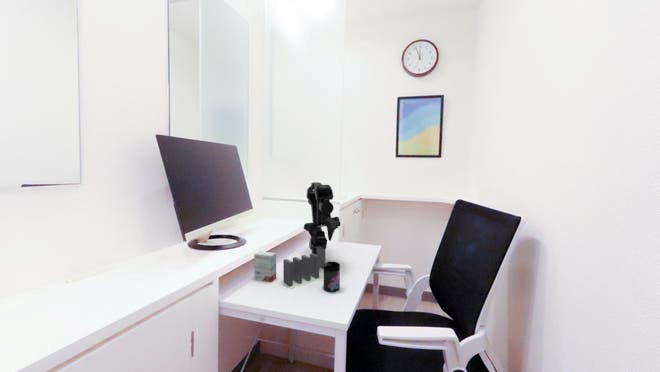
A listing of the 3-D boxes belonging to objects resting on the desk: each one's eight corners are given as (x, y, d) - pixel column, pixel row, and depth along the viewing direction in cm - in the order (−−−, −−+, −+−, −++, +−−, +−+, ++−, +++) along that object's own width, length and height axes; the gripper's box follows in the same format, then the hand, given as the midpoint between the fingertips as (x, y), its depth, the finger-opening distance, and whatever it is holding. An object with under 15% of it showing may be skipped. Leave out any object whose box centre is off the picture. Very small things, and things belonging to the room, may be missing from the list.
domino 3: (301, 277, 127) (301, 255, 126) (304, 276, 128) (304, 255, 127) (307, 281, 123) (307, 258, 122) (310, 280, 124) (310, 257, 123)
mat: (280, 281, 123) (280, 281, 123) (325, 269, 138) (325, 269, 138) (291, 289, 116) (291, 288, 116) (336, 275, 131) (337, 274, 131)
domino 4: (309, 275, 130) (309, 253, 129) (312, 274, 131) (312, 253, 130) (316, 278, 126) (316, 256, 125) (319, 277, 127) (319, 255, 126)
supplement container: (324, 293, 112) (324, 267, 111) (322, 286, 119) (322, 261, 118) (341, 292, 113) (341, 266, 112) (338, 285, 120) (338, 261, 119)
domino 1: (283, 282, 121) (283, 259, 121) (286, 281, 122) (286, 258, 122) (289, 286, 117) (289, 262, 117) (292, 285, 118) (292, 262, 118)
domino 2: (292, 280, 124) (292, 257, 123) (295, 279, 125) (295, 256, 124) (298, 283, 120) (298, 260, 120) (301, 283, 121) (302, 259, 121)
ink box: (276, 278, 126) (276, 252, 125) (271, 283, 122) (271, 255, 121) (260, 276, 129) (259, 250, 128) (253, 280, 125) (253, 253, 124)
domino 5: (316, 266, 142) (316, 246, 141) (319, 266, 143) (319, 246, 142) (322, 269, 138) (322, 249, 137) (325, 268, 139) (325, 248, 138)
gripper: (317, 215, 126) (317, 249, 127) (348, 211, 138) (347, 242, 139) (303, 211, 134) (303, 244, 136) (333, 207, 146) (332, 237, 148)
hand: (322, 242), depth 139 cm, fingers open, 9 cm apart
